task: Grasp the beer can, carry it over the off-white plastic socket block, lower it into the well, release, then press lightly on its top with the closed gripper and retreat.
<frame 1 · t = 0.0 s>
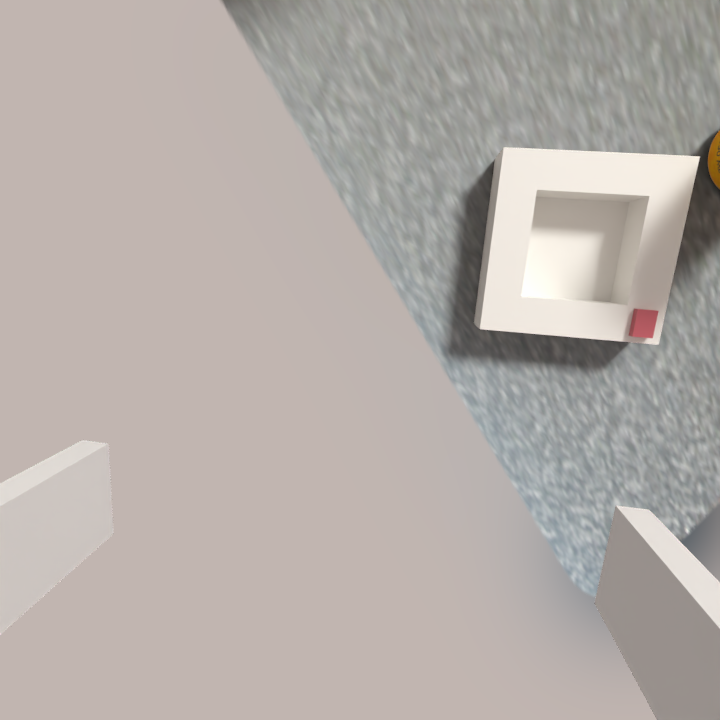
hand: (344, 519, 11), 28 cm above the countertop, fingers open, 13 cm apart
socket block: (566, 250, 36), on the countertop
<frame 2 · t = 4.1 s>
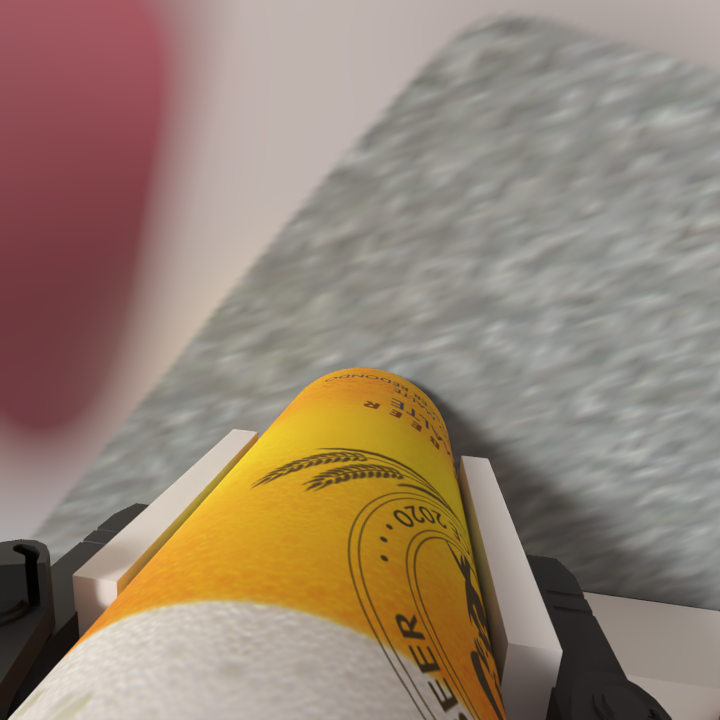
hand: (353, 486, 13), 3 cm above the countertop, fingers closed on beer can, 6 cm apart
beer can: (366, 440, 17), on the countertop, touching gripper
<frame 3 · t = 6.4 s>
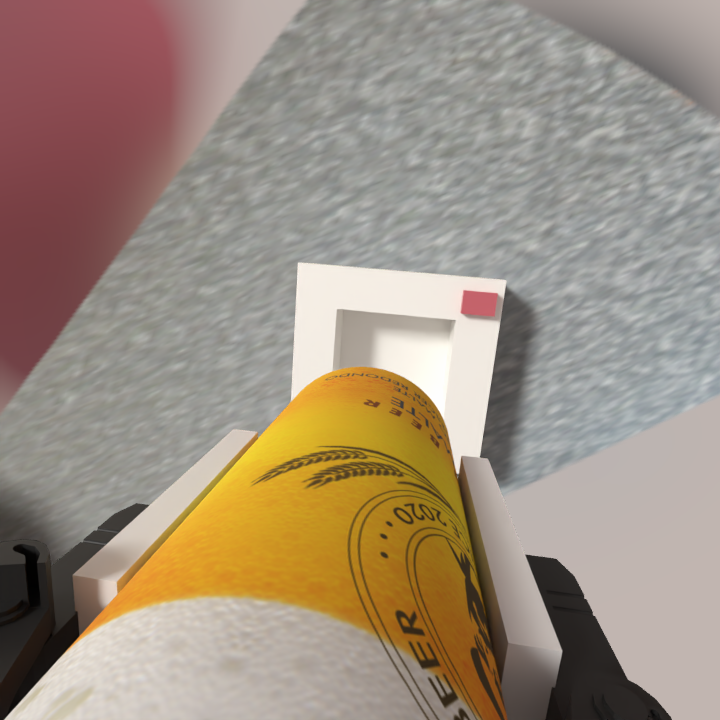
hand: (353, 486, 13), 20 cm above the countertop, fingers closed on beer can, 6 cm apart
socket block: (392, 361, 32), on the countertop
beer can: (366, 439, 17), point 16 cm above the countertop, touching gripper
when the fingers open (5 cm above the countertop, at t = 8.5 s): beer can stays where it is, resting on socket block.
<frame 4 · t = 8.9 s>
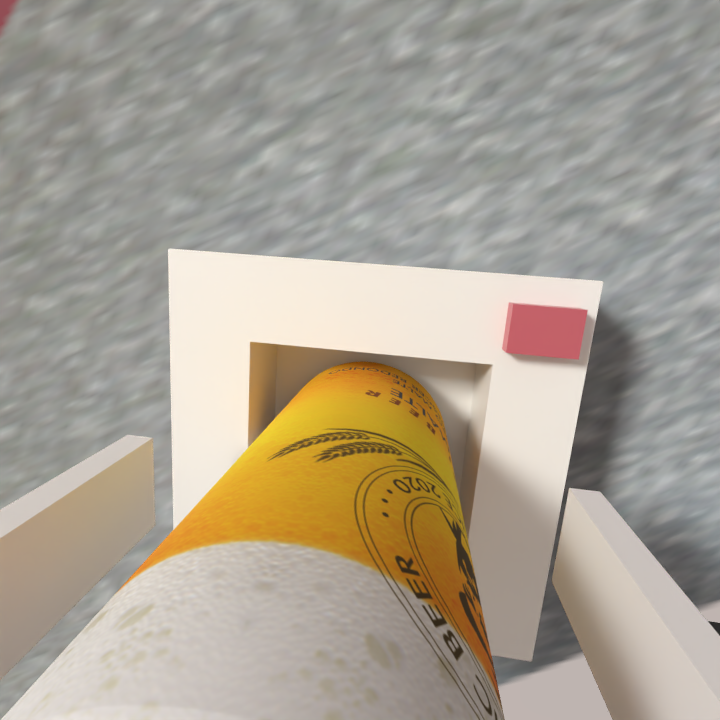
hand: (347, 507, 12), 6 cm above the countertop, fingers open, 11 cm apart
socket block: (369, 428, 18), on the countertop
beer can: (366, 430, 18), resting on socket block
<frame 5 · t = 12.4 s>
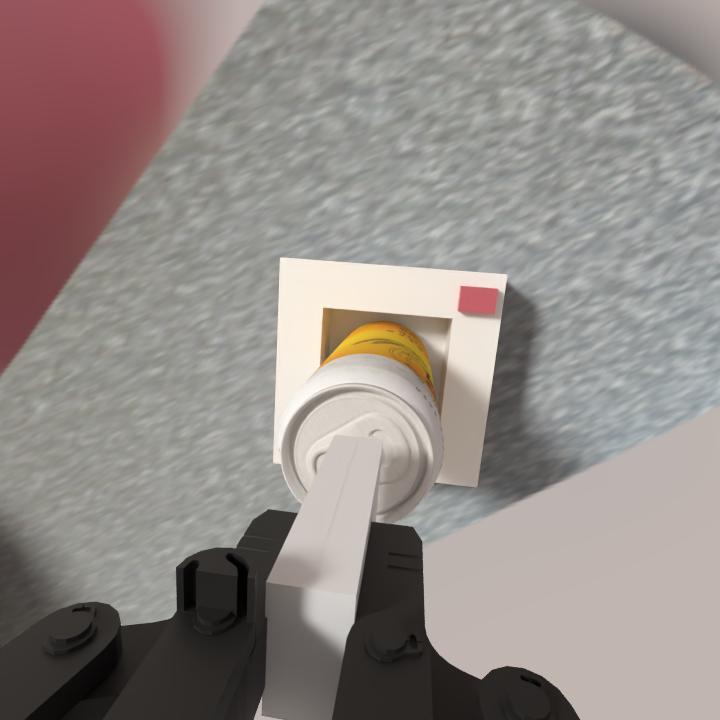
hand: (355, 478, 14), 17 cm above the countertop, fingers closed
socket block: (384, 363, 30), on the countertop
beer can: (383, 364, 30), resting on socket block
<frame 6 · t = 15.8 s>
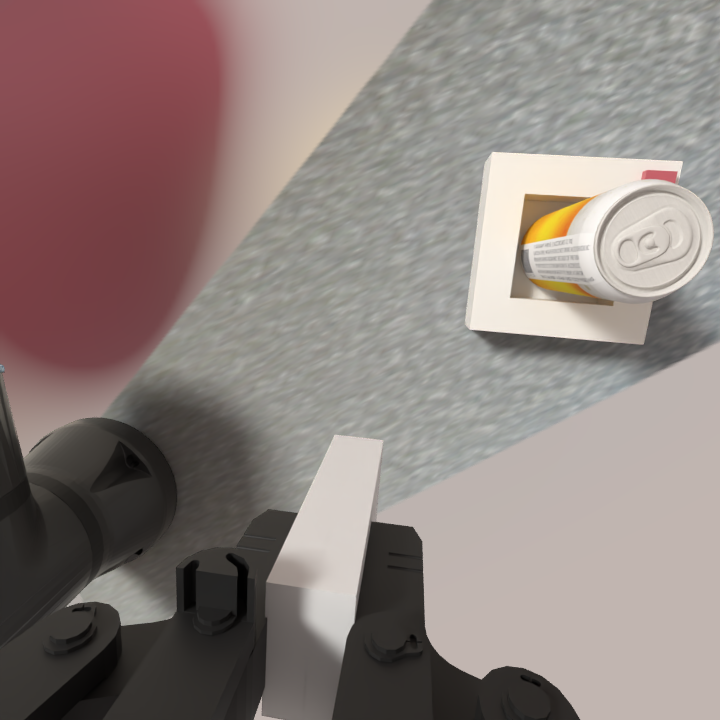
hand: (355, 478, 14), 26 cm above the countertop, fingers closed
socket block: (555, 252, 36), on the countertop
beer can: (555, 251, 36), resting on socket block
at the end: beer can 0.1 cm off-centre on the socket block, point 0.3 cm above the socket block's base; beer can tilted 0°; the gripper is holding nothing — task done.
